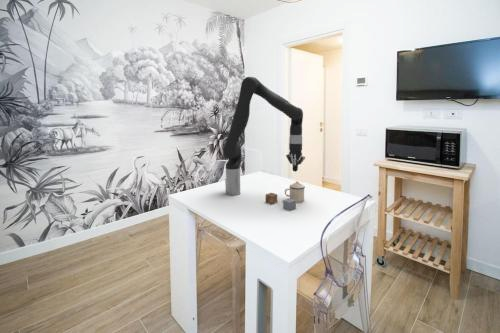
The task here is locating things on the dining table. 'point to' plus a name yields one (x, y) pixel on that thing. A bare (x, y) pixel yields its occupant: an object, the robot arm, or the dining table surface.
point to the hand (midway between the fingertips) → (295, 171)
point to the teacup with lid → (296, 192)
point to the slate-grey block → (289, 204)
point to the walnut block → (271, 198)
